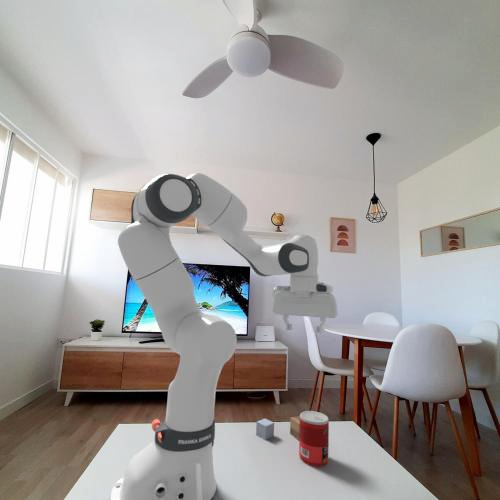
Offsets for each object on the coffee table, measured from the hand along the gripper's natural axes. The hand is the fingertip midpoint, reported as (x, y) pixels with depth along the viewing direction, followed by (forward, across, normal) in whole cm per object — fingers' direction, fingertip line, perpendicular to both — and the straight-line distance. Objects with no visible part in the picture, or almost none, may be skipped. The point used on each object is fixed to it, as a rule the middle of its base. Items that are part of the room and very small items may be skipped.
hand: (303, 331), depth 88 cm
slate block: (+34, -13, +2) cm, 36 cm away
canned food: (+34, +4, -4) cm, 34 cm away
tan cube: (+34, -2, +7) cm, 35 cm away
